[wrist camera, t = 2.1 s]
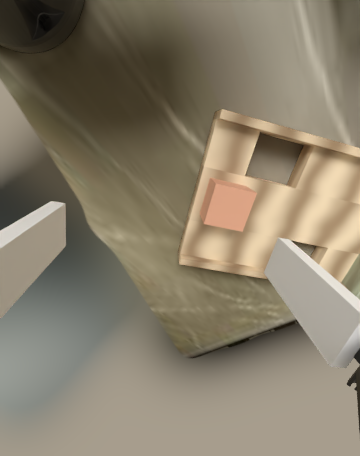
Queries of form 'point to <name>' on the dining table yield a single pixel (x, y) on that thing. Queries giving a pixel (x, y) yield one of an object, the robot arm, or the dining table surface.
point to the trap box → (278, 203)
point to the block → (227, 204)
